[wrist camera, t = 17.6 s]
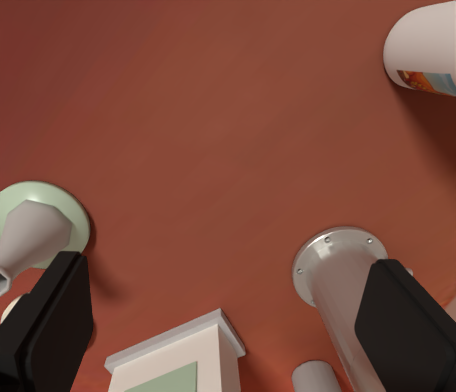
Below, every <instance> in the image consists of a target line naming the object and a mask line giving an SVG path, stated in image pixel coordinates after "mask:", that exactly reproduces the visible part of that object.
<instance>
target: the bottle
mask: <svg viewBox="0 0 456 392" xmlns="http://www.w3.org/2000/svg"><path fill="white" fill-rule="evenodd" d="M292 383H293V386H294V390H295V392H342V391H341V388H340V386H339V383H338V381H337V379H336V376H335V374H334V371H333V369H332V367H331V365H330V364H328V363H327V362H325V361H321V360H310V361H307V362H304V363H303V364H300V365H299V366H298V367H297V368H296V369H295V370H294V372H293V373H292Z"/></svg>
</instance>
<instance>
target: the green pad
mask: <svg viewBox="0 0 456 392" xmlns="http://www.w3.org/2000/svg"><path fill="white" fill-rule="evenodd" d="M26 199H28V200H32V201H36V202H40V203H44V204H49V205H53V206H54V207H55V208H56V209H57V210H58V211H59V212H61V213H62V214H63V215H64V216H65V217H66V218H67V219H68V220H69V221H70V222H71V223H72V229H71V235H70V241H69V245H68V246H66V247H65V248H64V249H62V250H61V251H79V252H80V253H82V251H83V250H84V248H85V246H86V245H87V243H88V240H89V237H90V220H89V217H88V214H87V212H86V210H85V209H84V207H83V205H82V204H81V203H80V202H79V200H78V199H77V198H76V197H75V196H73V195H72V194H71V193H70V192H68V191H67V190H65V189H63V188H62V187H59V186H57V185H55V184H52V183H49V182H44V181H36V180H29V181H22V182H18V183H15V184H13V185H10V186H9V187H7V188H6V189H4V190H3V191H1V192H0V239H1V236H2V233H3V229H4V225H5V221H6V217H7V214H8V213H9V212H10V211H11V210H13V209H14V208H15V207H17V206H18V205H19V204H21V203H22V202H23V201H24V200H26ZM56 255H57V254H55V255H54V256H53V257H51V258H49V259H47V260H45V261H43V262H41V263H38V264H36V265H34V266H32V267H34V268H41V269H47V268H48V266H49V265H50V263H51V262H52V261H53V259H54V258H55V256H56Z"/></svg>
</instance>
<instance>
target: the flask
mask: <svg viewBox="0 0 456 392" xmlns="http://www.w3.org/2000/svg"><path fill="white" fill-rule="evenodd" d="M71 229H72V223H71V222H70V221H69V220H68V219H67V218H66V217H65V216H64V215H63V214H62V213H61V212H59V211H58V210H57V209H56V208H55V207H54V206H53V205H49V204H44V203H40V202H36V201H32V200H28V199H26V200H24V201H23V202H22V203H21V204H19V205H18V206H17V207H15V208H14V209H13V210H11V211H10V212H9V213H8V214H7V217H6V221H5V225H4V229H3V233H2V236H1V239H0V297H1V296H2V295H3V294H5V293H6V292H8V291H9V290H10V289H11V287H12V281H13V280H14V279H15V278H16V276H17V275H18V274H20V273H21V272H22V271H24V270H26V269H28V268H30V267H32V266H34V265H36V264H38V263H41V262H43V261H45V260H47V259H49V258H51V257H53V256H54V255H55V254H57V253H58V252H59V251H61V250H62V249H64V248H65V247H66V246H68V245H69V241H70V235H71Z"/></svg>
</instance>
